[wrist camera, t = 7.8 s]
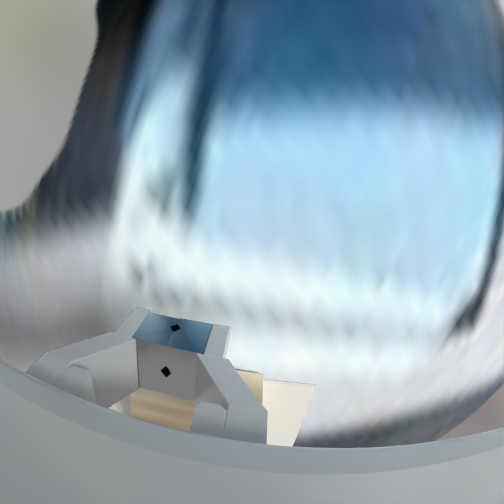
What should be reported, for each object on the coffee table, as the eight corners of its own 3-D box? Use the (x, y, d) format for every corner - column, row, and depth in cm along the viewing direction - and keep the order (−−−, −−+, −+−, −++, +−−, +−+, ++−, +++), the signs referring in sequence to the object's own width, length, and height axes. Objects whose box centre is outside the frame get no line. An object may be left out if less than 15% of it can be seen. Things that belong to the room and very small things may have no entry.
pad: (105, 343, 21) (103, 346, 20) (315, 384, 21) (316, 387, 20) (115, 420, 23) (114, 422, 23) (287, 454, 23) (287, 456, 23)
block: (128, 391, 16) (138, 461, 18) (261, 419, 16) (242, 482, 18) (151, 352, 20) (154, 423, 22) (263, 374, 20) (246, 441, 22)
